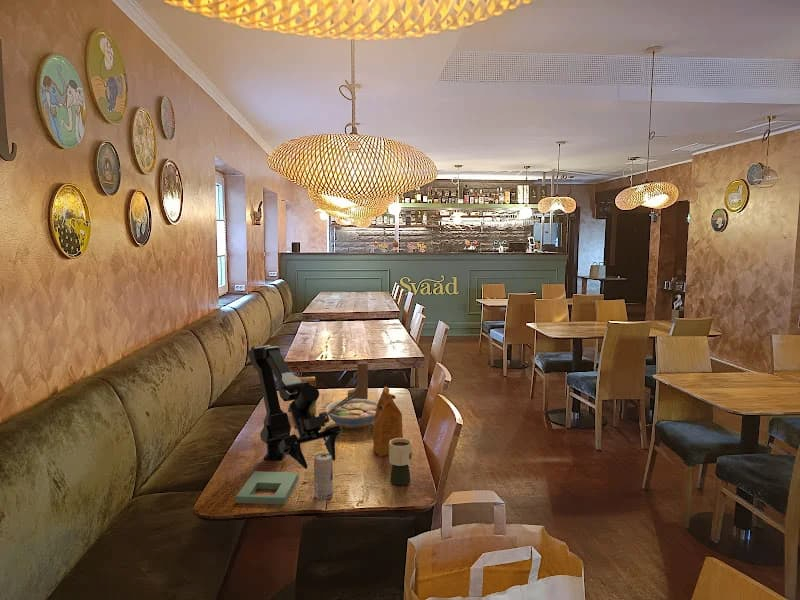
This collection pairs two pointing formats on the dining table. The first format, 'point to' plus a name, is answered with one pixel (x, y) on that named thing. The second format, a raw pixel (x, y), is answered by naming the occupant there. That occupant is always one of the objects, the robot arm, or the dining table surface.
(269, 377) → the robot arm
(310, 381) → the candy box
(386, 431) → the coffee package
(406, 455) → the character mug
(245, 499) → the socket board
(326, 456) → the energy drink
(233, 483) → the dining table surface
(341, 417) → the ramen bowl
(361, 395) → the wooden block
